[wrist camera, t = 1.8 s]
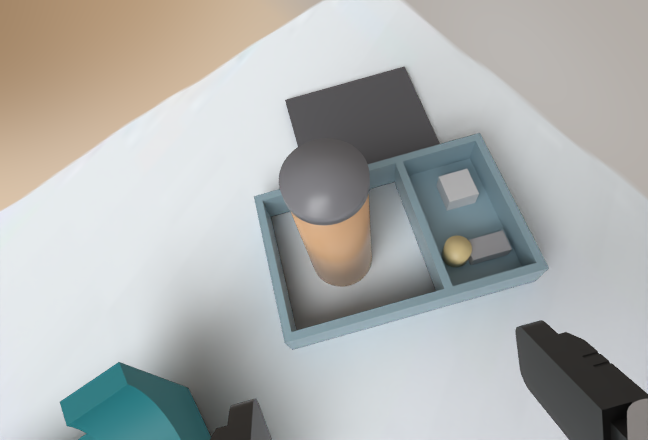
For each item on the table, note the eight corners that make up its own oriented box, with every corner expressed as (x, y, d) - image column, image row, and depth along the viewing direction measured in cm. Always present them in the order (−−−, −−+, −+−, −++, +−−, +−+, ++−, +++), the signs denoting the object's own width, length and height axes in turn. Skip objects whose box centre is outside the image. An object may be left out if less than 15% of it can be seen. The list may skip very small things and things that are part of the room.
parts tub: (472, 153, 39) (479, 133, 36) (535, 280, 33) (549, 268, 31) (262, 212, 39) (253, 196, 36) (292, 349, 33) (284, 342, 31)
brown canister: (362, 222, 37) (355, 128, 25) (380, 277, 35) (381, 202, 23) (305, 238, 37) (271, 152, 25) (319, 295, 35) (289, 228, 23)
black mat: (404, 70, 43) (404, 66, 43) (441, 151, 39) (441, 148, 39) (286, 103, 43) (285, 100, 43) (310, 188, 39) (309, 186, 39)
